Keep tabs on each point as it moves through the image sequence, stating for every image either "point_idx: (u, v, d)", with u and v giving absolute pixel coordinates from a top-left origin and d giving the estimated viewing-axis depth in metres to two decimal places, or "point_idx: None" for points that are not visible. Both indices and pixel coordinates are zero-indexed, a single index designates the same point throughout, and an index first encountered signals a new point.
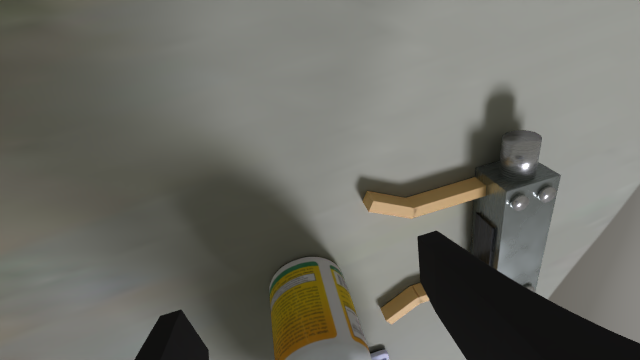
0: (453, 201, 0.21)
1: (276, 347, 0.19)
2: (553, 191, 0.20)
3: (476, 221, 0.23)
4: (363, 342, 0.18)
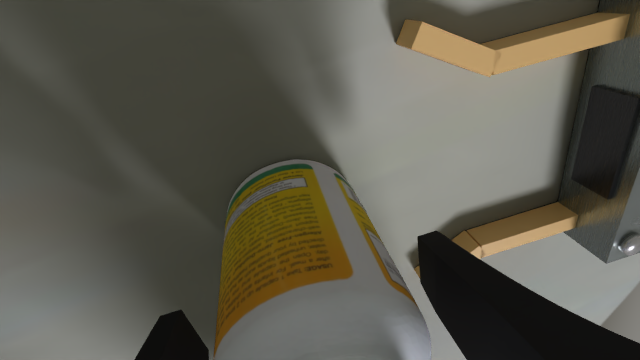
0: (567, 44, 0.11)
1: (219, 310, 0.08)
2: None
3: (590, 104, 0.13)
4: (411, 296, 0.08)
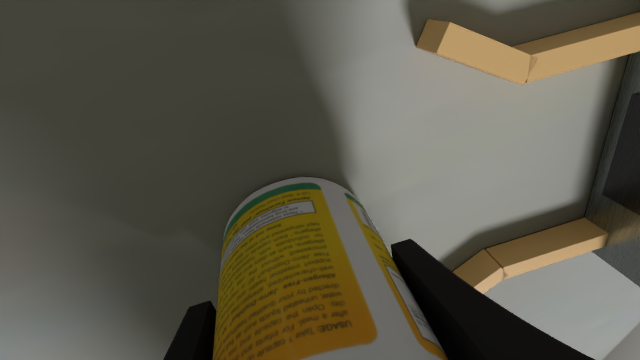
0: (611, 47, 0.10)
1: None
2: None
3: (629, 113, 0.12)
4: (444, 354, 0.07)
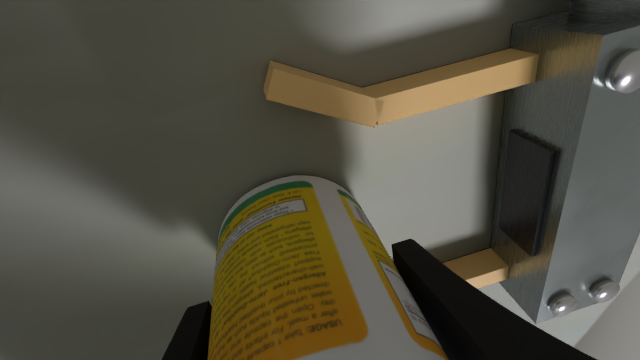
0: (465, 89, 0.10)
1: None
2: None
3: (509, 150, 0.12)
4: (440, 348, 0.07)
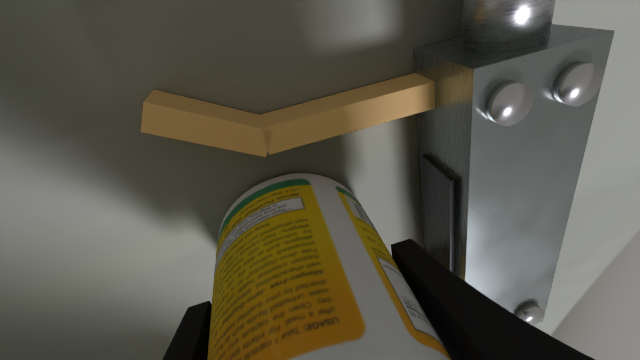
0: (359, 117, 0.09)
1: None
2: (594, 75, 0.08)
3: (423, 174, 0.11)
4: (440, 345, 0.06)
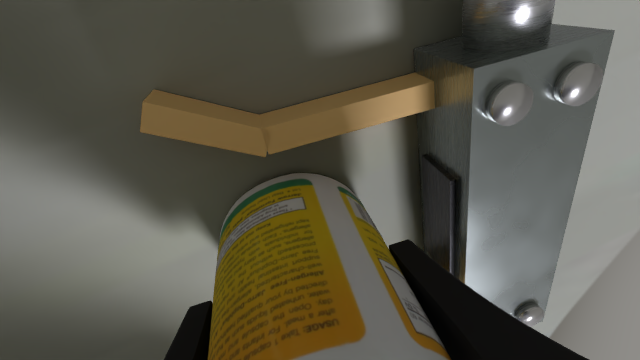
0: (359, 117, 0.09)
1: None
2: (594, 75, 0.08)
3: (423, 174, 0.11)
4: (441, 347, 0.06)
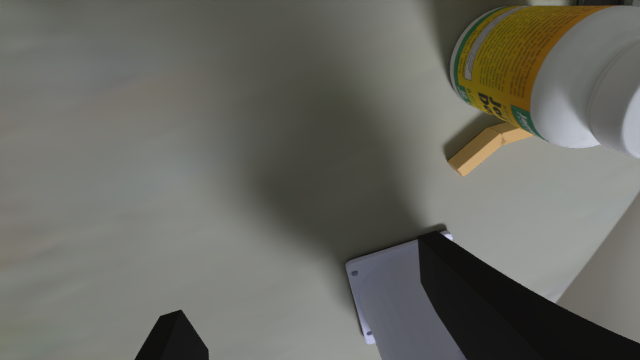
0: None
1: (517, 62, 0.13)
2: None
3: None
4: None
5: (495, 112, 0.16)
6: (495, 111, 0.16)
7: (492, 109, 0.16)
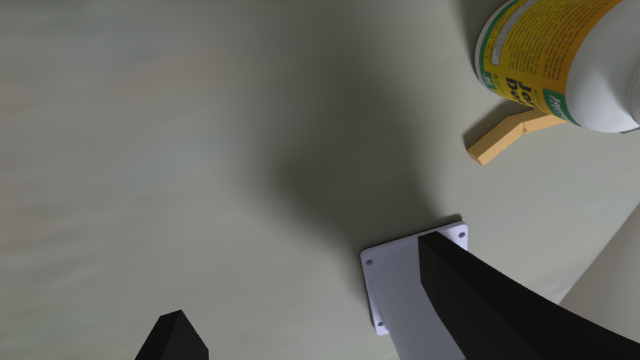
0: None
1: (552, 44, 0.13)
2: None
3: None
4: None
5: (523, 97, 0.16)
6: (523, 96, 0.16)
7: (520, 94, 0.16)
